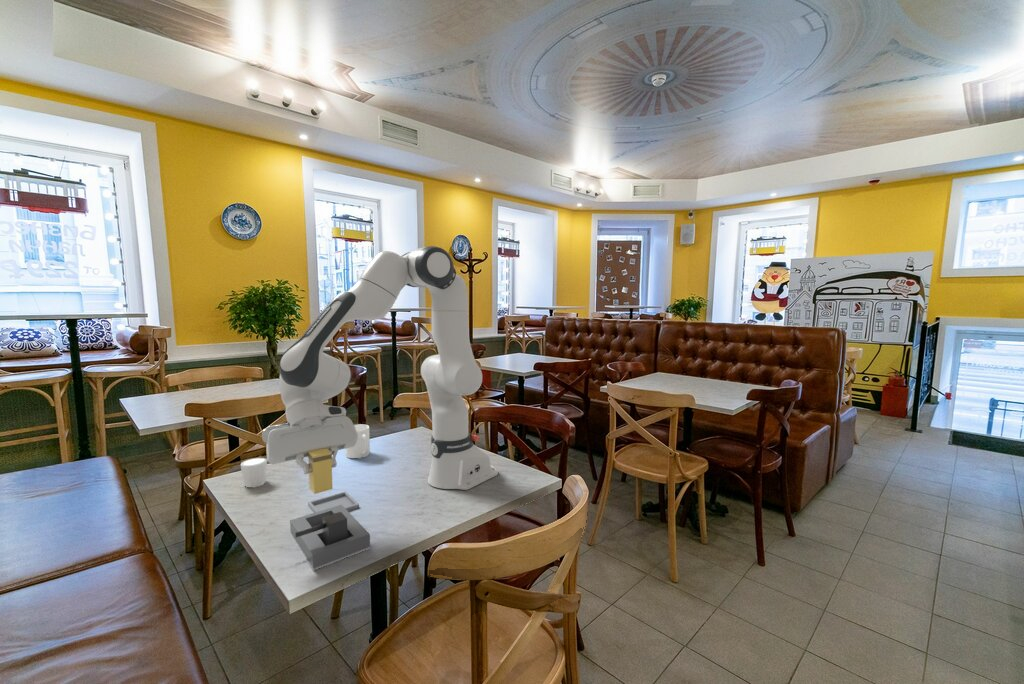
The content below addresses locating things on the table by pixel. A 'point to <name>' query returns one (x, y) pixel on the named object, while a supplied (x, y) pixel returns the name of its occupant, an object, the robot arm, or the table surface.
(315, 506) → the tray
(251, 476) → the white cylinder
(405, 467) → the table surface
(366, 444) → the cup
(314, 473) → the plug
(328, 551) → the grey socket block
